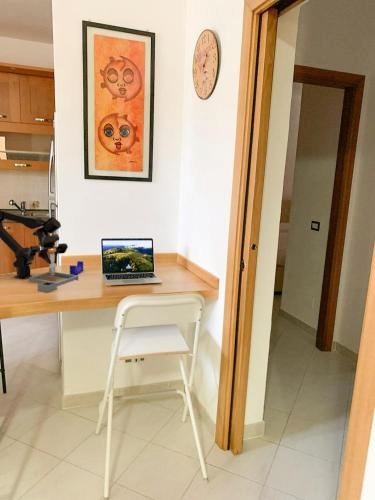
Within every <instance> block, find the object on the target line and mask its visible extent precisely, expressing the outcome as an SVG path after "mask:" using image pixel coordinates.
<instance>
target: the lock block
mask: <svg viewBox="0 0 375 500" xmlns="http://www.w3.org/2000/svg"><path fill="white" fill-rule="evenodd" d="M48 281H49V280H47V281H46V282H43V283H38V284H37V291H38V292H43V293H51V292H54V291H56V290H58V286H57V283H53V282H54V281H52V282H48Z"/></svg>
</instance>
